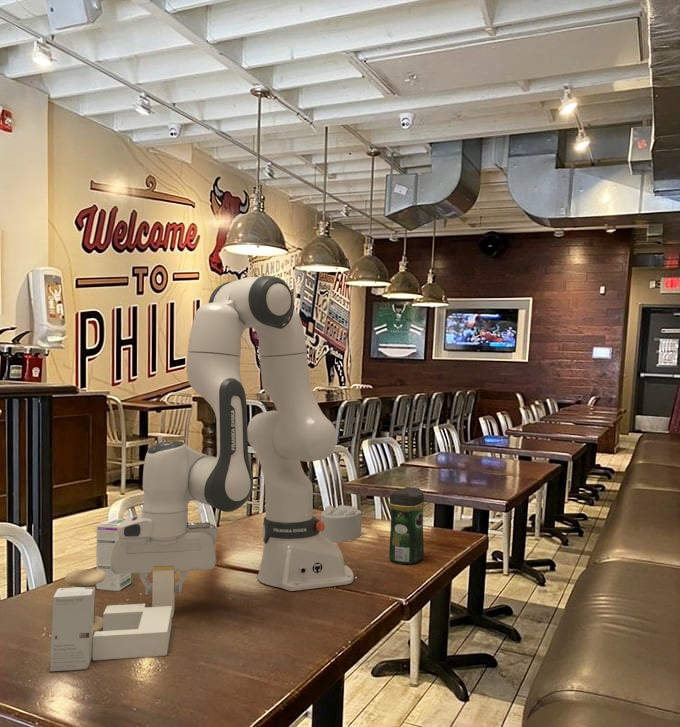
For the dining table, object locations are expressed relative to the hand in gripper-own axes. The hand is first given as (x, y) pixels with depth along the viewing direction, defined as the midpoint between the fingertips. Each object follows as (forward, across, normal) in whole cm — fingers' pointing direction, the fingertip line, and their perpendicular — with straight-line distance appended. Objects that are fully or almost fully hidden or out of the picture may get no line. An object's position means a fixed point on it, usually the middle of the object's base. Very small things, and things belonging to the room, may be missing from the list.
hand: (163, 593), depth 127 cm
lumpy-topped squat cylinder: (+4, -46, -52) cm, 70 cm away
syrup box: (+4, +12, -18) cm, 22 cm away
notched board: (+4, +4, +13) cm, 14 cm away
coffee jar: (+4, -59, -28) cm, 65 cm away
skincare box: (+4, +13, +20) cm, 24 cm away
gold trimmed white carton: (+4, 0, 0) cm, 4 cm away
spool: (+4, +14, +5) cm, 15 cm away
